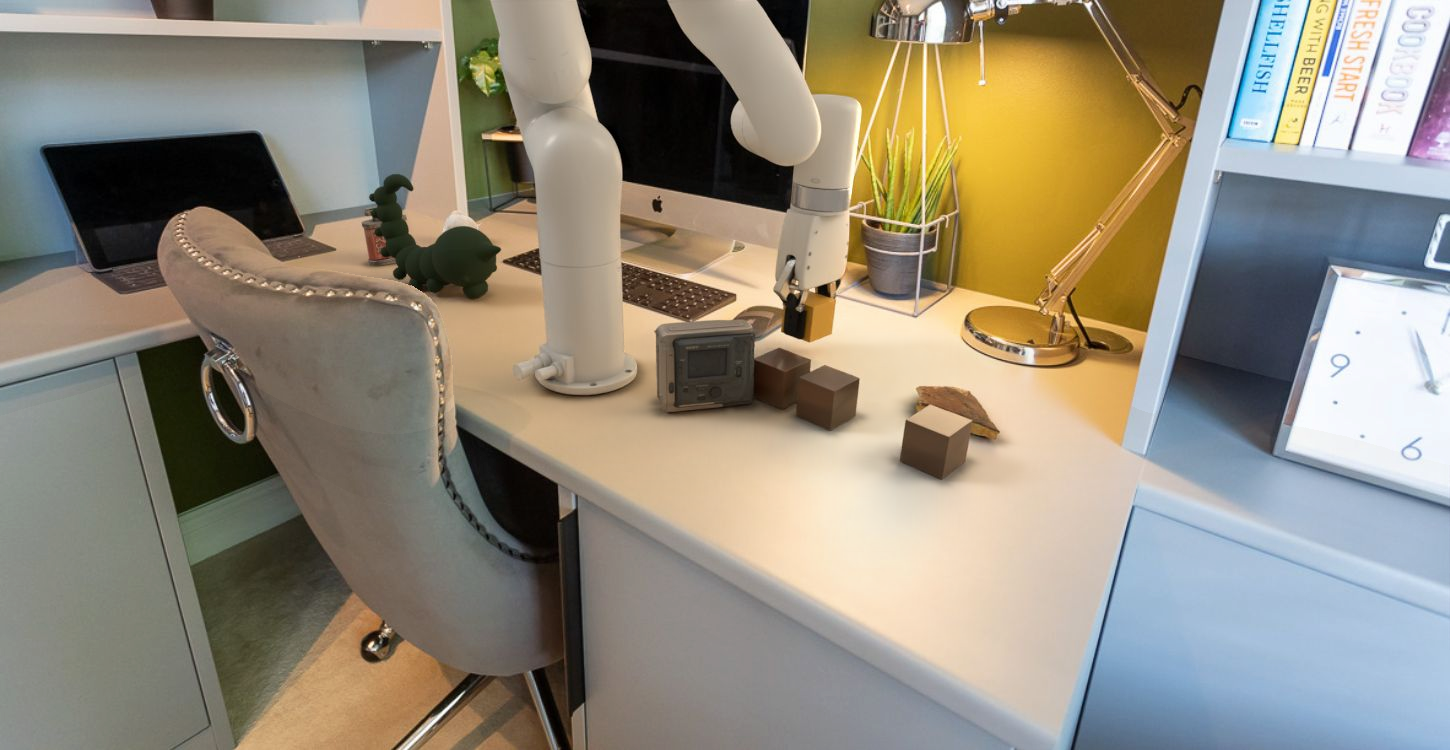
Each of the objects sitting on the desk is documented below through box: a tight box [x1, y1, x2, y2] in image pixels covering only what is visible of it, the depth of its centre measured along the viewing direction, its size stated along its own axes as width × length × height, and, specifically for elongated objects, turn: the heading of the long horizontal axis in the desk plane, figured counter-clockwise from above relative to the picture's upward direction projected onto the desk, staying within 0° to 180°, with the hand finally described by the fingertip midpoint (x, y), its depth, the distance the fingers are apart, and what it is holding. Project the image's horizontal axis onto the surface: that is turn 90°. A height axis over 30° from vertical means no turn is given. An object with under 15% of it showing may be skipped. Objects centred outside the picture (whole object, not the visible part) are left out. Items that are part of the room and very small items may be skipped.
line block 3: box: [899, 405, 973, 480], centre depth 82 cm, size 5×5×5 cm
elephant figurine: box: [441, 209, 484, 234], centre depth 150 cm, size 7×8×6 cm
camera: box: [653, 319, 756, 413], centre depth 91 cm, size 11×6×10 cm, turn 102°
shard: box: [915, 385, 1001, 440], centre depth 91 cm, size 11×8×2 cm
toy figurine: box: [368, 173, 502, 300], centre depth 123 cm, size 9×19×25 cm
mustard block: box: [780, 290, 837, 343], centre depth 106 cm, size 5×5×5 cm
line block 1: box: [753, 347, 812, 411], centre depth 94 cm, size 5×5×5 cm
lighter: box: [361, 205, 408, 267], centre depth 138 cm, size 8×3×10 cm, turn 144°
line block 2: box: [795, 364, 861, 431], centre depth 90 cm, size 5×5×5 cm
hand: (806, 329), depth 107 cm, fingers closed on mustard block, 5 cm apart
